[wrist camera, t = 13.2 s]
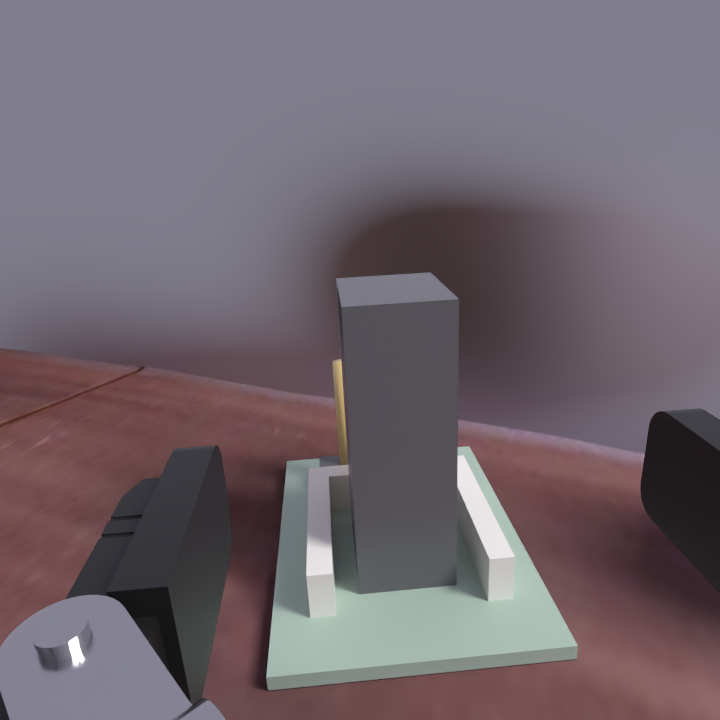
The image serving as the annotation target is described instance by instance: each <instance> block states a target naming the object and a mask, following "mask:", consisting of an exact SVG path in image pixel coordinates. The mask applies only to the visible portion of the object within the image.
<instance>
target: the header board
mask: <svg viewBox="0 0 720 720" xmlns="http://www.w3.org/2000/svg"><path fill="white" fill-rule="evenodd" d="M333 375H334V388H335V403H336V417H337V432H338V446H339V456H326V457H319V459H308V460H295V461H287V467H286V477H285V488H284V498H283V508H282V519H281V529H280V540H279V550H278V560H277V571H276V581H275V592H274V602H273V612H272V623H271V633H270V644H269V654H268V664H267V675H266V679H267V687H268V691H269V690H278V689H288V688H298V687H308V686H317V685H327V684H337V683H347V682H356V681H366V680H376V679H386V678H395V677H405V676H415V675H425V674H434V673H444V672H454V671H464V670H473V669H483V668H493V667H503V666H512V665H522V664H532V663H542V662H551V661H561V660H571V659H577V650H578V645H577V643H576V642H575V640H574V638H573V636H572V634H571V632H570V631H569V629H568V627H567V625H566V623H565V621H564V620H563V618H562V616H561V614H560V612H559V610H558V609H557V607H556V605H555V603H554V601H553V599H552V597H551V596H550V594H549V592H548V590H547V588H546V586H545V585H544V583H543V581H542V579H541V577H540V575H539V574H538V572H537V570H536V568H535V566H534V564H533V563H532V561H531V559H530V557H529V555H528V553H527V552H526V550H525V548H524V546H523V544H522V542H521V541H520V539H519V537H518V535H517V533H516V531H515V529H514V528H513V526H512V524H511V522H510V520H509V518H508V517H507V515H506V513H505V511H504V509H503V507H502V506H501V504H500V502H499V500H498V498H497V496H496V495H495V493H494V491H493V489H492V487H491V485H490V484H489V482H488V480H487V478H486V476H485V474H484V473H483V471H482V469H481V467H480V465H479V463H478V461H477V460H476V458H475V456H474V454H473V452H472V450H471V449H470V447H469V446H468V447H458V463H457V583H456V585H452V586H442V587H431V588H421V589H411V590H400V591H390V592H379V593H369V594H359V586H358V576H357V567H356V557H355V548H354V538H353V528H352V518H351V502H350V487H349V471H348V456H347V440H346V425H345V410H344V394H343V379H342V363H341V359H338V360H334V361H333Z"/></svg>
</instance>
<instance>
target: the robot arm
mask: <svg viewBox="0 0 720 720" xmlns="http://www.w3.org/2000/svg"><path fill="white" fill-rule="evenodd" d="M641 498H642V502H643V505H644V508H645V510H646V512H647V514H648V515H649V517H650V518H651V520H652V521H653V522H654V523H655V524H656V525H657V526H658V527H659V528H660V529H661V530H662V531H663V532H664V533H665V535H666V536H667V537H668V538H669V539H670V540H671V541H672V542H673V543H674V544H675V545H676V546H677V547H678V548H679V549H680V551H681V552H682V553H683V554H684V555H685V556H686V557H687V558H688V559H689V560H690V561H691V562H692V563H693V564H694V565H695V567H696V568H697V569H698V570H699V571H700V572H701V573H702V574H703V575H704V576H705V577H706V578H707V579H708V580H709V581H710V583H711V584H712V585H713V586H714V587H715V588H716V589H717V590H718V591H719V592H720V420H719V419H718V418H716V417H714V416H713V415H711V414H710V413H708V412H707V411H705V410H702V409H686V410H674V411H660V412H657V413H656V414H654V416H653V417H652V419H651V421H650V424H649V430H648V437H647V445H646V452H645V458H644V465H643V472H642V478H641ZM101 535H102V538H101V539H99V540H98V542H97V543H96V545H95V547H94V549H93V551H92V552H91V554H90V556H89V558H88V560H87V561H86V563H85V565H84V567H83V569H82V570H81V572H80V574H79V576H78V578H77V579H76V581H75V583H74V585H73V587H72V588H71V590H70V592H69V594H68V596H67V597H66V599H65V600H63V601H60V602H57V603H55V604H52V605H50V606H48V607H46V608H44V609H42V610H40V611H38V612H37V613H35V614H34V615H32V616H31V617H29V618H28V619H26V620H25V621H24V622H23V623H21V624H20V625H19V626H18V627H17V628H16V629H15V630H14V631H13V632H12V633H11V634H10V635H9V636H8V637H7V639H6V640H5V641H4V642H3V644H2V646H1V647H0V720H226V719H225V718H224V717H223V715H222V714H221V713H220V711H219V710H218V709H217V708H216V707H215V706H214V704H213V703H211V702H210V701H209V700H207V699H205V698H203V699H201V698H202V693H203V689H204V684H205V679H206V674H207V669H208V664H209V659H210V654H211V649H212V644H213V639H214V634H215V629H216V624H217V620H218V615H219V610H220V605H221V600H222V595H223V590H224V585H225V580H226V575H227V570H228V565H229V560H230V555H231V546H232V528H231V518H230V511H229V504H228V497H227V490H226V484H225V477H224V470H223V463H222V457H221V452H220V449H219V447H218V446H217V445H216V446H203V447H190V448H177V449H174V450H173V452H172V454H171V456H170V458H169V460H168V462H167V465H166V467H165V469H164V471H163V473H162V475H161V477H160V478H150V479H143V480H142V481H141V482H140V483H139V484H137V485H136V486H135V487H134V488H133V489H131V490H130V491H129V492H128V493H127V494H125V495H124V496H123V497H122V498H121V500H120V502H119V504H118V506H117V507H116V509H115V511H114V513H113V515H112V516H111V521H109V522H108V524H107V525H106V527H105V529H104V531H103V533H102V534H101Z"/></svg>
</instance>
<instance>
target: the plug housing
mask: <svg viewBox="0 0 720 720" xmlns="http://www.w3.org/2000/svg"><path fill="white" fill-rule="evenodd" d="M336 286H337V300H338V301H337V302H338V317H339V332H340V347H341V363H342V379H343V394H344V410H345V425H346V440H347V456H348V471H349V487H350V502H351V518H352V528H353V538H354V548H355V557H356V567H357V576H358V586H359V594H369V593H379V592H390V591H400V590H411V589H421V588H431V587H442V586H452V585H456V583H457V463H458V341H459V339H458V336H459V335H458V334H459V299H458V298H457V297H456V296H455V295H454V294H453V293H452V292H451V291H450V290H449V289H447V288H446V287H445V286H444V285H443V284H442V283H441V282H440V281H439V280H438V279H437V278H436V277H435V276H434V275H432V274H431V273H417V274H416V273H415V274H400V275H386V276H385V275H384V276H370V277H354V278H339V279H336Z"/></svg>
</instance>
